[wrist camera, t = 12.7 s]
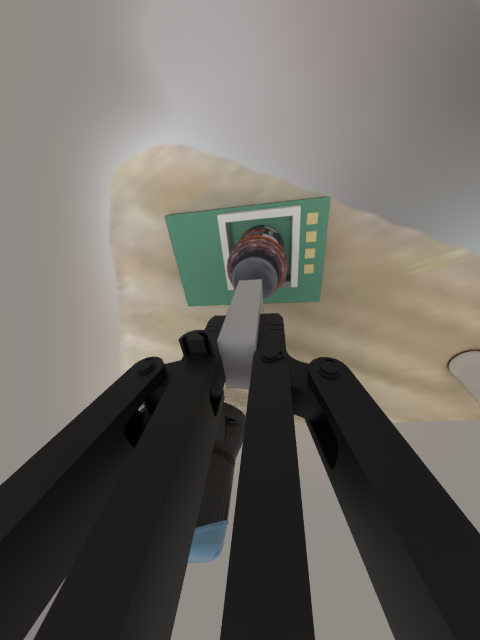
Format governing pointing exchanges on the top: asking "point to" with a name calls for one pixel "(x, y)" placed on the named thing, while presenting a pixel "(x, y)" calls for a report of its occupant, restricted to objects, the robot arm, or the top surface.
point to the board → (225, 231)
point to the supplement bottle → (259, 259)
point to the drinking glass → (468, 372)
